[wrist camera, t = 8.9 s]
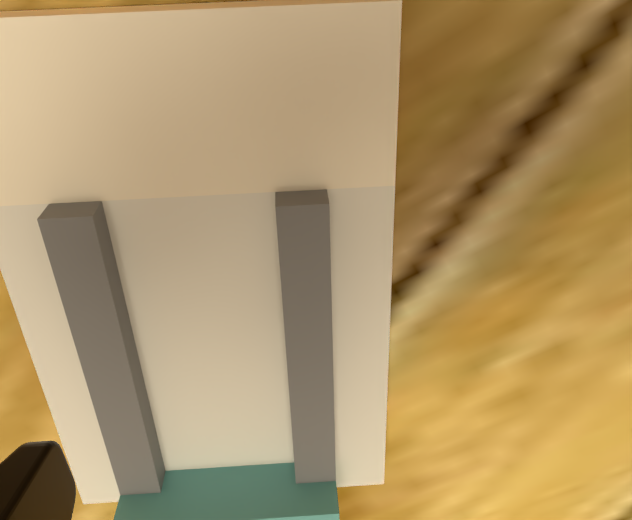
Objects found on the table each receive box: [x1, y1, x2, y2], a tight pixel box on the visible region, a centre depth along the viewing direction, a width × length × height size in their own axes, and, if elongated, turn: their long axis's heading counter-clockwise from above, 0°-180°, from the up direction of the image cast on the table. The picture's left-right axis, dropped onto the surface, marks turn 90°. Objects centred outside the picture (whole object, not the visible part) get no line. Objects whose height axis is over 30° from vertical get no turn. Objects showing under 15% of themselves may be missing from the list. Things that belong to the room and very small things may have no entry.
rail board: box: [0, 0, 402, 520], centre depth 19 cm, size 12×18×4 cm, turn 2°
